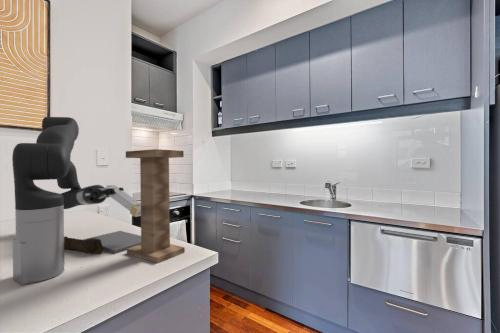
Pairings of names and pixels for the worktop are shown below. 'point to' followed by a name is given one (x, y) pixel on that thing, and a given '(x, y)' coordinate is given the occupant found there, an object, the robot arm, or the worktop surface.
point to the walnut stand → (155, 205)
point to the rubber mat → (118, 241)
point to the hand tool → (84, 245)
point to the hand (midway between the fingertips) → (118, 190)
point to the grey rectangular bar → (126, 200)
